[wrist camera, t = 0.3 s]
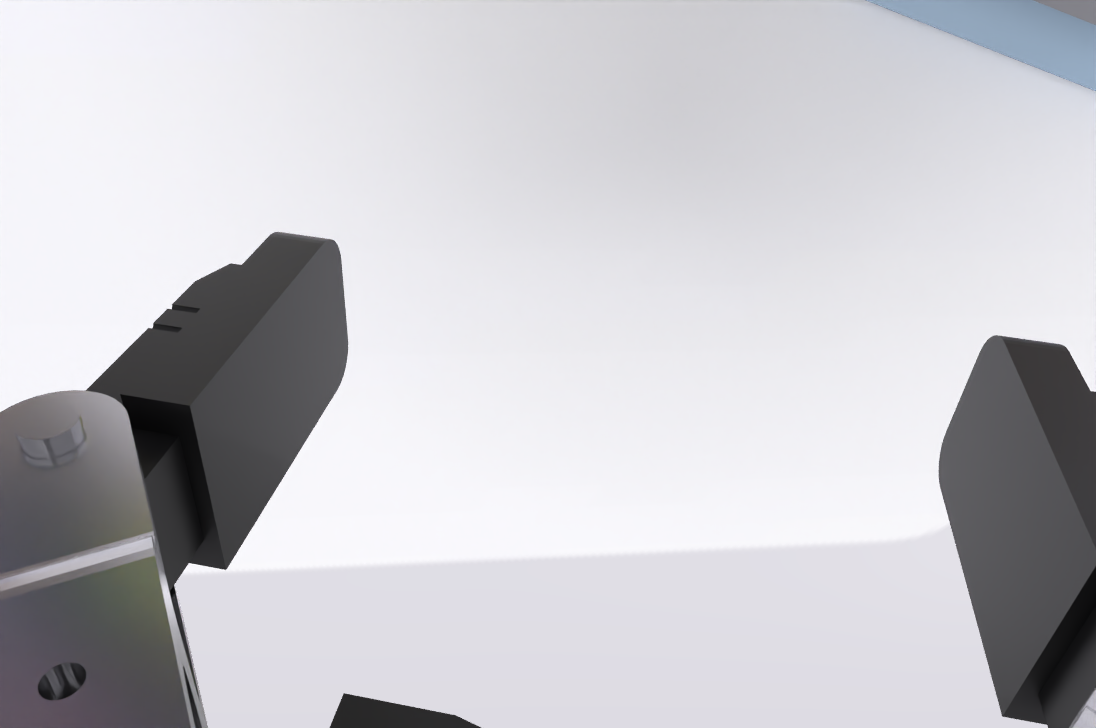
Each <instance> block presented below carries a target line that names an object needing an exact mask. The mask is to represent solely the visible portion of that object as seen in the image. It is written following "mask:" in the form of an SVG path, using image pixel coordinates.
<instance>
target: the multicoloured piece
mask: <svg viewBox="0 0 1096 728" xmlns="http://www.w3.org/2000/svg"><path fill="white" fill-rule="evenodd" d="M866 1H869V2H871V3H874V4H877V5H879V6H882V7H884V8H887V9H889V10H892V11H894V12H897V13H899V14H902V15H904V16H907V17H909V18H912V19H915V20H917V21H920V22H922V23H925V24H927V25H930V26H932V27H935V28H937V29H940V30H942V31H945V32H947V33H950V34H953V35H955V36H958V37H960V38H963V39H965V40H968V41H970V42H973V43H975V44H978V45H980V46H983V47H985V48H988V49H991V50H993V51H996V52H998V53H1001V54H1003V55H1006V56H1008V57H1011V58H1013V59H1016V60H1018V61H1021V62H1023V63H1026V64H1029V65H1031V66H1034V67H1036V68H1039V69H1041V70H1044V71H1046V72H1049V73H1051V74H1054V75H1056V76H1059V77H1061V78H1064V79H1067V80H1069V81H1072V82H1074V83H1077V84H1079V85H1082V86H1084V87H1087V88H1089V89H1092V90H1094V91H1096V0H866Z"/></svg>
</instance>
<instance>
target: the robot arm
mask: <svg viewBox="0 0 1096 728" xmlns="http://www.w3.org/2000/svg"><path fill="white" fill-rule="evenodd" d="M347 355H348V335H347V323H346V312H345V300H344V288H343V276H342V264H341V255H340V251H339V248H338V245H337V244H336V242H335V241H334V240H331V239H325V238H318V237H310V236H303V235H296V234H289V233H282V232H274V233H272V234H271V235H270V236H269V237H268V238H267V239H266V240H265V241H264V242H263V243H262V244H261V245H260V246H259V247H258V248H257V250H256V251H255V252H254V253H253V254H252V255H251V256H250V257H249V258H248V259H247V260H246V261H245V262H244V263H243V264H242V265H237V264H229V265H227V266H225V267H223V268H221V269H219V270H217V271H215V272H213V273H211V274H209V275H207V276H205V277H203V278H201V279H199V280H197V281H195V282H194V283H193V284H192V285H191V286H190V287H189V288H188V289H187V290H186V291H185V292H184V293H183V294H182V295H181V296H180V297H179V298H178V299H177V300H176V301H175V302H174V303H173V304H172V309H167V310H166V311H165V312H164V313H163V314H162V315H161V316H160V317H159V318H158V319H157V320H156V321H155V322H154V323H153V328H152V329H151V328H148V329H147V330H146V331H145V332H144V333H143V334H142V335H141V336H140V337H139V338H138V339H137V340H136V341H135V342H134V343H133V344H132V345H131V346H130V347H129V348H128V349H127V350H126V351H125V352H124V353H123V354H122V355H121V356H120V357H119V358H118V359H117V360H116V361H115V362H114V363H113V364H112V365H111V366H110V367H109V368H108V369H107V370H106V371H105V372H104V373H103V374H102V375H101V376H100V377H99V378H98V379H97V380H96V381H95V382H94V383H93V384H92V385H91V386H90V387H89V388H88V389H87V390H86V391H76V390H72V391H60V392H54V393H48V394H44V395H40V396H36V397H33V398H30V399H27V400H24V401H22V402H19V403H17V404H15V405H13V406H11V407H9V408H7V409H5V410H4V411H2V412H0V728H208V726H207V721H206V717H205V713H204V708H203V704H202V699H201V695H200V691H199V686H198V682H197V677H196V673H195V668H194V664H193V660H192V655H191V651H190V646H189V642H188V637H187V633H186V629H185V624H184V620H183V616H182V611H181V607H180V602H179V598H178V594H177V590H176V587H175V583H176V581H177V580H178V578H179V577H180V575H181V574H182V572H183V571H184V569H185V568H186V566H187V565H188V563H192V564H198V565H203V566H208V567H214V568H219V569H225V570H226V569H227V568H228V566H229V564H230V563H231V561H232V560H233V558H234V556H235V555H236V553H237V551H238V550H239V548H240V547H241V545H242V543H243V542H244V540H245V539H246V537H247V535H248V534H249V532H250V530H251V529H252V527H253V526H254V524H255V522H256V521H257V519H258V517H259V516H260V514H261V513H262V511H263V509H264V508H265V506H266V504H267V503H268V501H269V500H270V498H271V496H272V495H273V493H274V492H275V490H276V488H277V487H278V485H279V483H280V482H281V480H282V479H283V477H284V475H285V474H286V472H287V470H288V469H289V467H290V466H291V464H292V462H293V461H294V459H295V457H296V456H297V454H298V453H299V451H300V449H301V448H302V446H303V444H304V443H305V441H306V440H307V438H308V436H309V435H310V433H311V432H312V430H313V428H314V427H315V425H316V423H317V422H318V420H319V419H320V417H321V415H322V414H323V412H324V410H325V409H326V407H327V406H328V404H329V402H330V401H331V399H332V397H333V396H334V394H335V393H336V391H337V389H338V387H339V386H340V383H341V381H342V378H343V375H344V371H345V367H346V362H347ZM939 483H940V488H941V492H942V495H943V499H944V503H945V506H946V510H947V514H948V517H949V521H950V525H951V528H952V532H953V536H954V539H955V543H956V547H957V551H958V554H959V558H960V562H961V565H962V569H963V573H964V577H965V580H966V584H967V588H968V591H969V595H970V599H971V602H972V606H973V610H974V613H975V617H976V621H977V624H978V628H979V632H980V636H981V639H982V643H983V647H984V650H985V654H986V658H987V661H988V665H989V669H990V673H991V676H992V680H993V684H994V687H995V691H996V695H997V698H998V702H999V705H1000V709H1001V713H1002V716H1003V717H1009V718H1014V719H1019V720H1025V721H1030V722H1036V723H1041V724H1047V725H1048V728H1096V392H1092V391H1090V389H1089V388H1088V386H1087V384H1086V382H1085V380H1084V378H1083V377H1082V375H1081V373H1080V371H1079V369H1078V367H1077V365H1076V364H1075V362H1074V360H1073V358H1072V356H1071V354H1070V352H1069V351H1068V349H1067V348H1066V347H1065V346H1063V345H1060V344H1054V343H1047V342H1040V341H1033V340H1026V339H1019V338H1012V337H1005V336H998V335H996V336H992V337H991V338H989V339H988V340H987V342H986V343H985V344H984V346H983V347H982V349H981V351H980V353H979V356H978V358H977V360H976V363H975V365H974V367H973V370H972V372H971V375H970V377H969V379H968V382H967V384H966V386H965V389H964V391H963V393H962V396H961V398H960V401H959V403H958V405H957V408H956V410H955V412H954V415H953V417H952V420H951V422H950V424H949V427H948V429H947V431H946V434H945V437H944V440H943V443H942V447H941V452H940V459H939ZM330 728H481V727H479V726H476V725H474V724H472V723H470V722H468V721H466V720H464V719H462V718H460V717H458V716H456V715H450V714H445V713H441V712H436V711H430V710H425V709H420V708H415V707H410V706H405V705H400V704H395V703H389V702H385V701H380V700H374V699H370V698H365V697H360V696H354V695H349V694H343V697H342V699H341V702H340V704H339V706H338V709H337V711H336V714H335V716H334V719H333V721H332V723H331V726H330Z"/></svg>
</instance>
